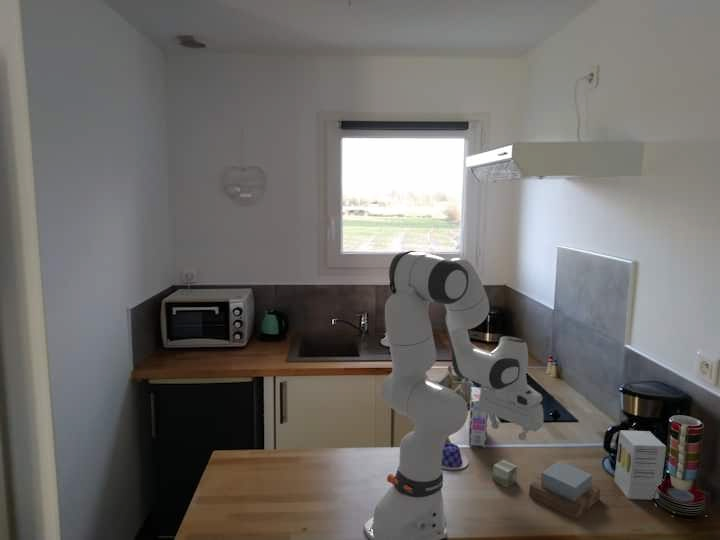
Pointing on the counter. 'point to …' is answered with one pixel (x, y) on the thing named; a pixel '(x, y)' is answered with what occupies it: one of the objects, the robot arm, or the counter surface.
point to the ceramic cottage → (456, 384)
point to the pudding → (453, 457)
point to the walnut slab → (565, 499)
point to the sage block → (504, 473)
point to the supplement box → (639, 464)
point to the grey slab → (566, 480)
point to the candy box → (477, 420)
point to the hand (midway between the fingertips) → (508, 433)
